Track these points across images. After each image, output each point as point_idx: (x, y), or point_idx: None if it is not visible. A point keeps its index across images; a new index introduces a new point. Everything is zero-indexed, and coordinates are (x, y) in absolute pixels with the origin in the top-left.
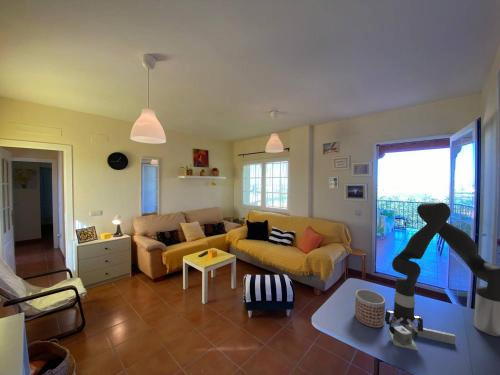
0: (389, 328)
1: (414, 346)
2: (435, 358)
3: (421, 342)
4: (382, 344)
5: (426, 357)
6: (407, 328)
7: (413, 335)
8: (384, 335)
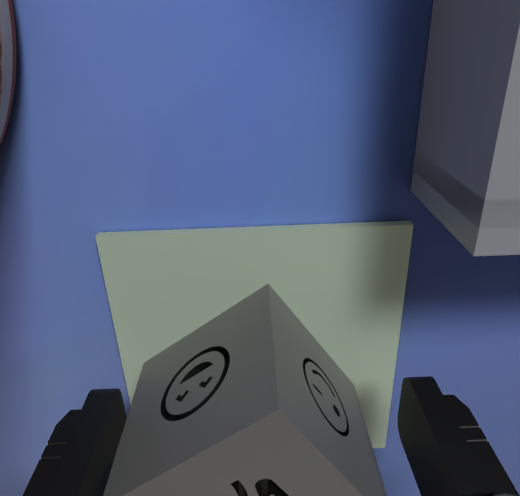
0: (50, 455)
1: (367, 412)
2: (510, 472)
3: (501, 299)
4: (24, 484)
5: None
6: (436, 78)
7: (414, 448)
8: (40, 348)
